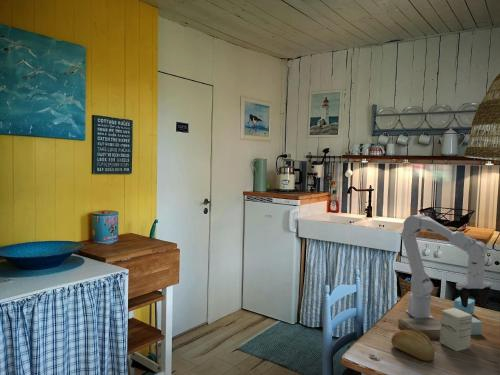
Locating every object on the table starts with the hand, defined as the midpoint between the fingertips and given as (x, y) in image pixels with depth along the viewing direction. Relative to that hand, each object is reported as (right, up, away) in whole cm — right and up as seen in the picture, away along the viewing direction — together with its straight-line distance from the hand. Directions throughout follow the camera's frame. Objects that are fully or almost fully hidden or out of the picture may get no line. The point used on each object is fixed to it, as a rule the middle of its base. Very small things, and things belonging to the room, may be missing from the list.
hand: (473, 306), depth 155 cm
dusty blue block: (0, -10, +1) cm, 11 cm away
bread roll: (-31, -12, -17) cm, 37 cm away
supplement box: (-13, -11, -11) cm, 21 cm away
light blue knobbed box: (+6, -9, +18) cm, 21 cm away
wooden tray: (-19, -10, 0) cm, 22 cm away
